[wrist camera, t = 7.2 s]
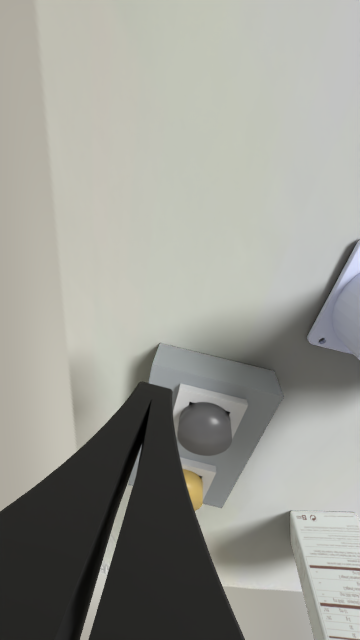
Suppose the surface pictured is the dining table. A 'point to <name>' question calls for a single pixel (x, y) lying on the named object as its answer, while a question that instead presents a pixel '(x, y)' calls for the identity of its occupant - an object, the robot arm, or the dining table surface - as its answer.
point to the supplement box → (329, 571)
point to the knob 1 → (194, 488)
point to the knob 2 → (204, 429)
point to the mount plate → (227, 392)
